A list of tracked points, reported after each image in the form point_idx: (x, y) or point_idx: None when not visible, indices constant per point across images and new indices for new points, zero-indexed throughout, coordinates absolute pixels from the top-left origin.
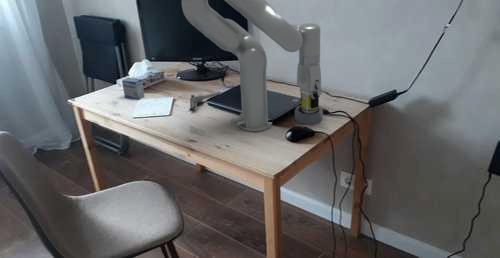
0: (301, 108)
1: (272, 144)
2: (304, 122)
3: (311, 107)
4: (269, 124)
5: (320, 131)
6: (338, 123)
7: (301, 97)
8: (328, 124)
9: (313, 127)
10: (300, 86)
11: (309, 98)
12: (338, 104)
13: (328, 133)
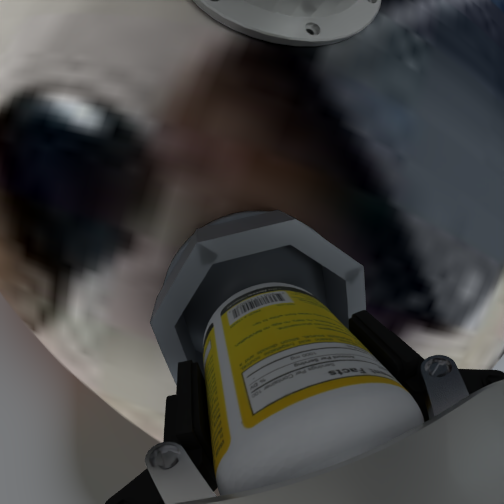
0: (339, 290)
1: (18, 19)
2: (177, 254)
3: (178, 367)
4: (214, 5)
5: (64, 311)
6: (147, 417)
7: (376, 336)
8: (143, 378)
9: (118, 291)
10: (440, 429)
11: (215, 420)
12: None
13: (42, 339)
